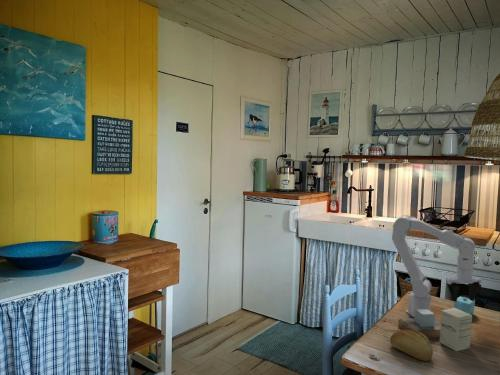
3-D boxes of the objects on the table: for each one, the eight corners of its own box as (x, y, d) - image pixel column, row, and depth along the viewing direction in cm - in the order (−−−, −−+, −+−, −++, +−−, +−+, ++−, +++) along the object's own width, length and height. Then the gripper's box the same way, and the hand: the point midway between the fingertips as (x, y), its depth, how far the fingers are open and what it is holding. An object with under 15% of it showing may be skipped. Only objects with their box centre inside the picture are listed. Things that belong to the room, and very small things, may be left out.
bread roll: (398, 341, 147) (399, 320, 146) (438, 357, 136) (439, 335, 135) (384, 349, 141) (385, 327, 140) (425, 366, 129) (426, 343, 129)
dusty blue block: (414, 321, 158) (415, 309, 157) (426, 321, 158) (427, 308, 158) (421, 326, 153) (422, 314, 152) (433, 326, 153) (434, 313, 153)
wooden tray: (398, 325, 161) (398, 318, 160) (432, 323, 163) (432, 316, 162) (414, 338, 149) (414, 331, 149) (450, 337, 151) (451, 329, 151)
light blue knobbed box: (465, 320, 167) (467, 303, 166) (450, 316, 171) (451, 299, 170) (474, 313, 175) (476, 296, 175) (460, 309, 179) (461, 293, 179)
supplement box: (438, 342, 146) (440, 309, 145) (453, 339, 149) (455, 307, 148) (456, 352, 139) (458, 317, 138) (470, 348, 142) (473, 314, 141)
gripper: (454, 271, 155) (452, 304, 156) (488, 270, 157) (486, 303, 158) (443, 266, 162) (441, 298, 163) (476, 265, 164) (473, 297, 165)
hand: (462, 300), depth 161 cm, fingers open, 7 cm apart
